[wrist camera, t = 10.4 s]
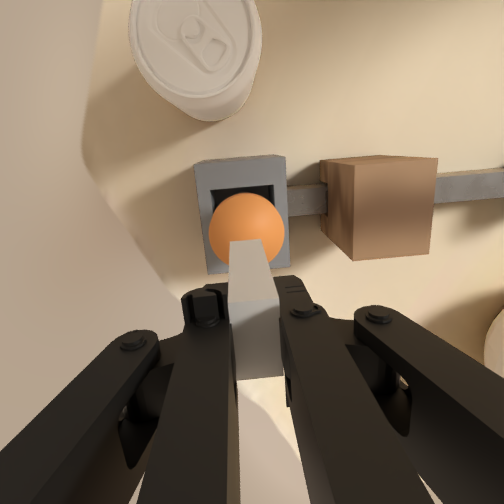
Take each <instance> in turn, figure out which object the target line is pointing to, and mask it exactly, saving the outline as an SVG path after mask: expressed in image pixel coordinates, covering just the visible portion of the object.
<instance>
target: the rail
mask: <svg viewBox="0 0 504 504" xmlns="http://www.w3.org/2000/svg"><path fill="white" fill-rule="evenodd" d="M503 197H504V168H493V169H482V170H470V171H459V172H447V173H437V176H436V186H435V196H434V204H435V203H446V202H458V201H469V200H480V199H491V198H503ZM287 204H288V217H289V216H300V215H311V214H323V213H328V183H321V184H309V185H298V186H287Z"/></svg>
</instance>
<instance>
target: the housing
mask: <svg viewBox="0 0 504 504" xmlns="http://www.w3.org/2000/svg"><path fill="white" fill-rule="evenodd" d="M194 172H195V180H196V187H197V195H198V202H199V210H200V218H201V225H202V233H203V241H204V248H205V256H206V263H207V271H208V274H219V273H229V265H227V264H225V263H224V262H223V261H221V260H220V259H219V258H218V257H217V256H216V254H215V253H214V251H213V249H212V247H211V244H210V241H209V226H210V222H211V219H212V216H213V213H214V212H215V210H216V208H217V207H218V206H219V204H220V203H221V202H223V201H224V200H225V199H227V198H228V197H230V196H232V195H233V194H235V193H238V192H250V193H253V194H257V195H260V196H262V197H264V198H266V199H267V200H268V201H270V202H271V203H272V204H273V206H274V207H275V208H276V210H277V211H278V213H279V214H280V216H281V218H282V221H283V224H284V231H285V232H284V241H283V245H282V247H281V249H280V251H279V253H278V254H277V255H276V256H275V258H274V259H273V260H271V261H270V262H269V263H268V264H269V267H270V269H273V268H284V267H290V248H289V226H288V204H287V182H286V160H285V157H284V156H279V155H262V156H250V157H238V158H227V159H215V160H203V161H201V162H198V163H196V164H194Z"/></svg>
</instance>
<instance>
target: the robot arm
mask: <svg viewBox="0 0 504 504" xmlns="http://www.w3.org/2000/svg"><path fill="white" fill-rule="evenodd" d="M181 303H182V309H183V315H184V321H185V326H184V329H183V332H182V333H180V334H179V335H176V336H173V337H171V338H167V339H164V340H160V341H159V340H158V336H157V334H156V333H155V332H153V331H150V330H134V331H130V332H127V333H125V334H123V335H121V336H119V337H118V338H116V339H115V340H114V341H112V342H111V343H110V344H109V345H108V346H107V347H106V348H105V349H104V350H103V351H102V352H101V353H100V354H99V355H98V356H97V357H96V358H95V359H94V360H93V361H92V362H91V363H90V364H89V365H88V366H87V367H86V368H85V369H84V370H83V371H82V372H81V373H80V374H78V375H77V377H75V378H74V380H72V381H71V382H70V383H69V384H68V385H67V386H66V387H65V388H64V389H63V390H62V391H61V392H60V393H59V394H58V395H57V396H56V397H55V398H54V399H53V400H52V401H51V402H50V403H49V404H48V405H47V406H46V407H45V408H44V409H43V410H42V411H41V412H40V413H39V414H38V415H37V416H36V417H35V418H34V419H33V420H32V421H31V422H30V423H29V424H28V425H27V426H26V427H25V428H24V429H23V430H22V431H21V432H20V433H19V434H18V435H17V436H16V437H15V438H14V439H12V440H11V441H10V442H9V443H8V444H7V445H6V446H5V447H4V448H3V449H2V450H1V451H0V504H128V503H129V501H130V499H131V497H132V496H133V494H134V492H135V490H136V488H137V486H138V484H139V482H140V480H141V478H142V476H143V474H144V472H145V474H144V478H143V481H142V485H141V489H140V492H139V496H138V500H137V503H136V504H240V466H239V465H240V464H239V424H238V423H239V422H238V389H237V381H238V380H247V379H257V378H266V377H276V376H284V373H283V368H284V372H285V389H286V406H287V407H290V410H291V415H292V420H293V424H294V429H295V434H296V438H297V443H298V448H299V452H300V457H301V461H302V466H303V471H304V475H305V480H306V485H307V489H308V494H309V499H310V503H311V504H435V503H434V501H433V500H432V498H431V496H430V494H429V493H428V491H427V489H426V487H425V486H424V484H423V482H422V480H421V479H420V477H421V478H422V479H423V480H424V481H425V483H426V484H427V485H428V486H429V487H430V488H431V490H432V491H433V492H434V493H435V494H436V496H437V497H438V498H439V499H440V500H441V502H442V503H443V504H504V378H503V377H501V376H499V375H498V374H496V373H495V372H493V371H492V370H490V369H488V368H487V367H485V366H484V365H482V364H480V363H479V362H477V361H476V360H474V359H472V358H471V357H469V356H468V355H466V354H465V353H463V352H461V351H460V350H458V349H457V348H455V347H453V346H452V345H450V344H449V343H447V342H445V341H444V340H442V339H441V338H439V337H438V336H436V335H434V334H433V333H431V332H430V331H428V330H426V329H425V328H423V327H422V326H420V325H418V324H417V323H415V322H414V321H412V320H410V319H409V318H407V317H406V316H404V315H403V314H401V313H399V312H398V311H395V310H393V309H391V308H387V307H384V306H380V305H377V306H376V305H371V306H365V307H362V308H359V309H357V310H356V311H355V312H354V320H343V319H335V318H331V317H329V316H328V314H327V312H326V311H325V309H324V308H323V307H322V306H320V305H318V304H315V303H313V301H312V299H311V297H310V295H309V293H308V292H307V290H306V288H305V286H304V284H303V282H302V280H301V279H299V278H298V277H296V276H294V275H289V276H279V277H272V274H271V270H270V267H269V264H268V261H267V257H266V254H265V251H264V248H263V244H262V241H261V239H253V240H242V241H231V242H230V252H229V281H228V282H226V283H215V284H206V285H205V286H204V287H203V288H198V289H195V290H192V291H189V292H187V293H186V294H184V295H183V296H182V298H181ZM400 375H401V376H402V377H403V378H404V380H405V381H406V382H407V384H408V386H406V385H405V384H404V383H403V382H402V381H401V380H400ZM236 380H237V381H236ZM418 474H419V475H420V477H419V475H418Z"/></svg>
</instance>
